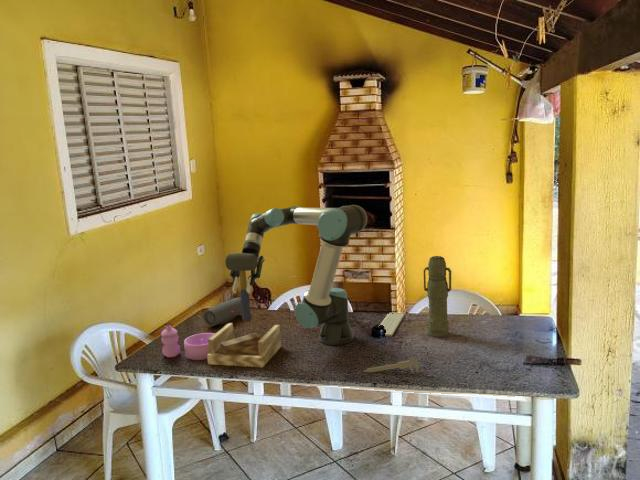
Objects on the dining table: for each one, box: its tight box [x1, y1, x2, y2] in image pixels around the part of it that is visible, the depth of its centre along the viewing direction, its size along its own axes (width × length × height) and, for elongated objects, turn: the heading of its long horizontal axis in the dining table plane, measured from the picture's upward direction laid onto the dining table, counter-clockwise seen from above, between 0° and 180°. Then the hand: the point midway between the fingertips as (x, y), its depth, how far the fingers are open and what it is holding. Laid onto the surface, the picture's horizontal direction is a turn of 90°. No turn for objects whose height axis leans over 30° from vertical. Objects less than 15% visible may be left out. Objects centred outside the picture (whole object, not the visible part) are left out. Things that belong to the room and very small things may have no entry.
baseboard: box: [379, 309, 406, 337], centre depth 262 cm, size 30×3×10 cm
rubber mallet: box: [224, 252, 258, 323], centre depth 235 cm, size 12×8×30 cm, turn 70°
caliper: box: [363, 357, 419, 374], centre depth 209 cm, size 20×1×6 cm, turn 81°
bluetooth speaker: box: [203, 297, 243, 327], centre depth 280 cm, size 23×9×10 cm, turn 148°
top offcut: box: [220, 332, 261, 353], centre depth 230 cm, size 16×5×3 cm, turn 126°
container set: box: [160, 324, 215, 361], centre depth 239 cm, size 25×15×13 cm, turn 92°
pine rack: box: [206, 322, 282, 368], centre depth 234 cm, size 24×22×10 cm
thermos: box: [423, 255, 452, 339], centre depth 242 cm, size 9×12×35 cm
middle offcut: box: [221, 344, 259, 355], centre depth 230 cm, size 16×5×3 cm, turn 95°
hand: (240, 291), depth 231 cm, fingers closed on rubber mallet, 5 cm apart
